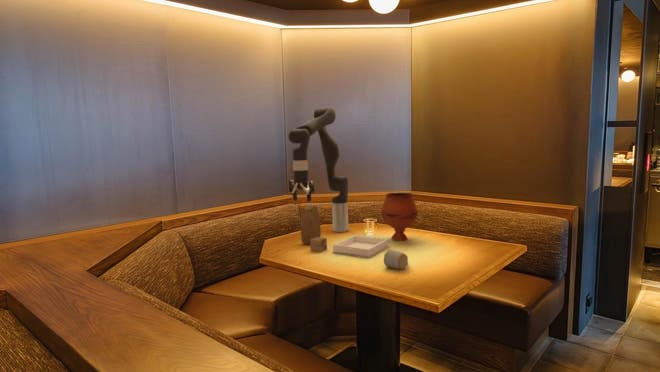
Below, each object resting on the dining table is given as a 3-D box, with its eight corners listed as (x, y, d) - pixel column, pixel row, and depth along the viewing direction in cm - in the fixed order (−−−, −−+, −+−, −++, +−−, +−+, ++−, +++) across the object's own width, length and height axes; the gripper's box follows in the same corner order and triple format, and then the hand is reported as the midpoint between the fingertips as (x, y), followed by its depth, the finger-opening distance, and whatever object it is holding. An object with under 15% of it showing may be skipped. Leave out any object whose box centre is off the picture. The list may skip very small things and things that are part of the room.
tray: (354, 242, 228) (354, 235, 228) (388, 246, 218) (388, 238, 217) (332, 252, 210) (332, 244, 209) (369, 257, 199) (369, 249, 199)
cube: (317, 248, 219) (316, 236, 219) (327, 249, 216) (326, 238, 215) (310, 251, 214) (310, 239, 214) (320, 252, 211) (320, 240, 210)
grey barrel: (399, 272, 178) (399, 254, 177) (383, 268, 183) (383, 251, 182) (412, 266, 185) (412, 249, 185) (396, 262, 191) (396, 246, 190)
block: (311, 245, 224) (309, 208, 222) (299, 243, 229) (298, 207, 226) (323, 241, 233) (321, 205, 231) (312, 239, 237) (310, 204, 235)
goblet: (422, 236, 235) (422, 192, 232) (409, 245, 219) (409, 197, 216) (390, 233, 245) (390, 190, 242) (376, 241, 229) (375, 195, 226)
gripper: (316, 168, 212) (317, 200, 214) (294, 168, 220) (295, 199, 222) (307, 170, 206) (309, 203, 208) (284, 169, 214) (286, 201, 216)
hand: (301, 201), depth 215 cm, fingers open, 8 cm apart
